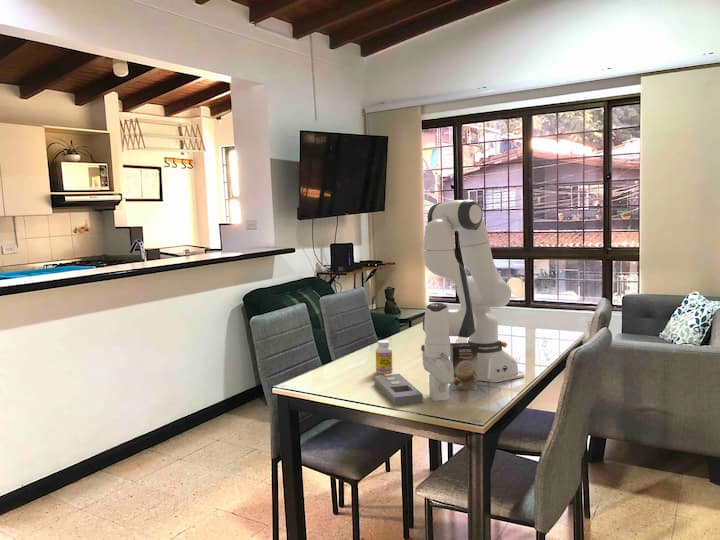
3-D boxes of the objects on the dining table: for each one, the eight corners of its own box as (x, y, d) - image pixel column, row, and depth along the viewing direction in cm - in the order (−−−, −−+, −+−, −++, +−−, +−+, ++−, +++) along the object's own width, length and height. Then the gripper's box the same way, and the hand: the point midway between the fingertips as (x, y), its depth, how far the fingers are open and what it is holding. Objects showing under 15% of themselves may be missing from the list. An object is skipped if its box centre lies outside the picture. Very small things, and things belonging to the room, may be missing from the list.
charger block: (442, 394, 203) (442, 369, 202) (448, 399, 198) (447, 373, 197) (429, 396, 202) (428, 370, 201) (434, 400, 197) (434, 374, 196)
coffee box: (452, 390, 207) (452, 347, 206) (449, 385, 214) (448, 343, 212) (478, 389, 208) (477, 346, 206) (473, 384, 214) (473, 342, 212)
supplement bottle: (378, 375, 229) (377, 343, 228) (374, 370, 236) (373, 340, 234) (394, 373, 231) (393, 342, 230) (389, 369, 238) (388, 338, 236)
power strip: (399, 381, 220) (399, 372, 220) (422, 402, 195) (422, 392, 195) (374, 383, 218) (374, 374, 218) (394, 405, 193) (394, 395, 193)
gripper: (458, 356, 189) (458, 397, 190) (435, 343, 209) (436, 380, 210) (440, 358, 187) (441, 399, 189) (419, 344, 207) (420, 381, 209)
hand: (438, 389), depth 200 cm, fingers closed on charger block, 5 cm apart
